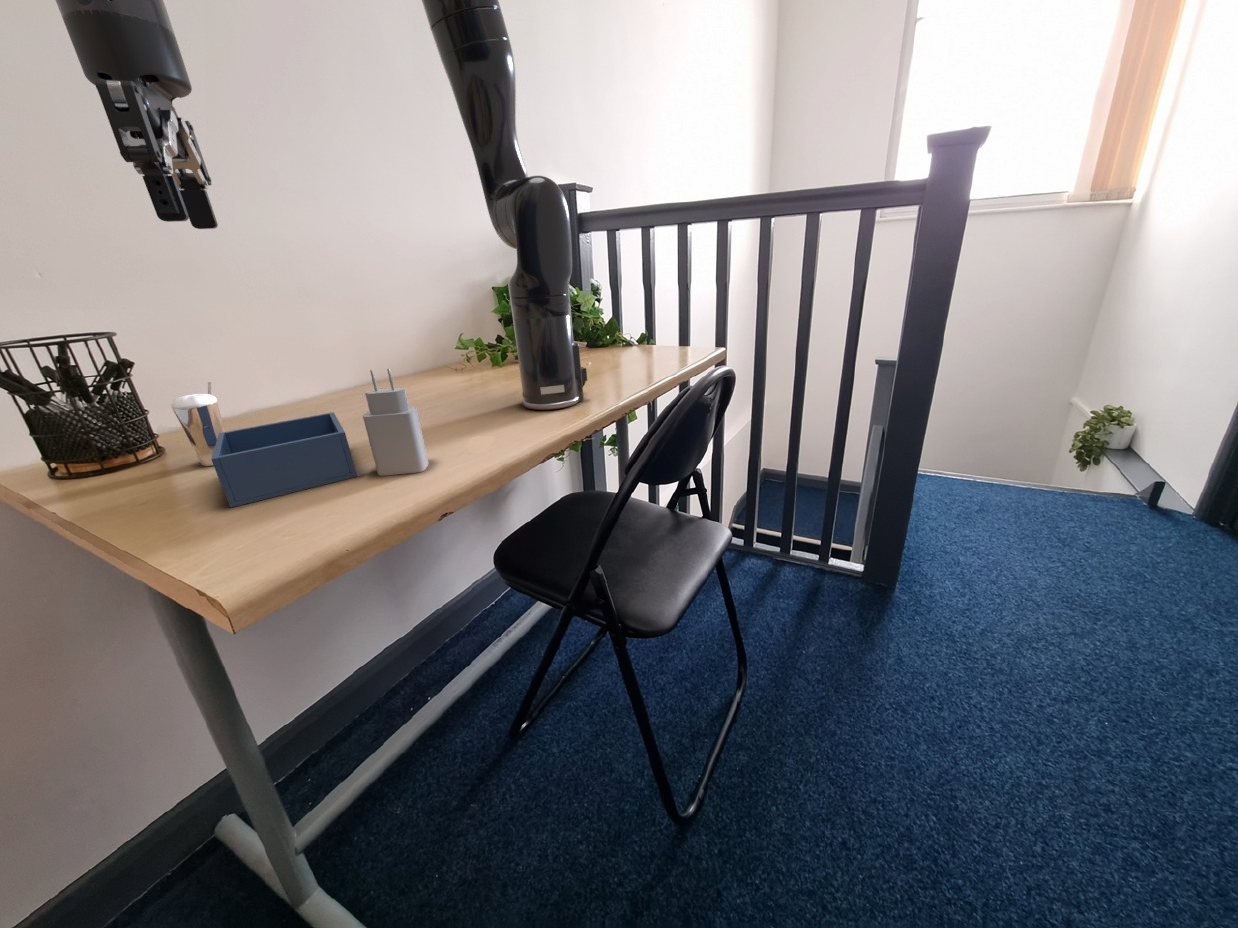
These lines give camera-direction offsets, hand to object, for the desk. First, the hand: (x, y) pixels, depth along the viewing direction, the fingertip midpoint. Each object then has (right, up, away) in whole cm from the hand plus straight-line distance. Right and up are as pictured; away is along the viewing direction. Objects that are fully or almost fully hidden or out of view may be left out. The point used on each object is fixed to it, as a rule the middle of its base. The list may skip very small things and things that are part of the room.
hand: (191, 225), depth 51 cm
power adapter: (+18, -25, +9) cm, 32 cm away
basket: (+5, -26, +9) cm, 28 cm away
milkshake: (-10, -24, +16) cm, 30 cm away
